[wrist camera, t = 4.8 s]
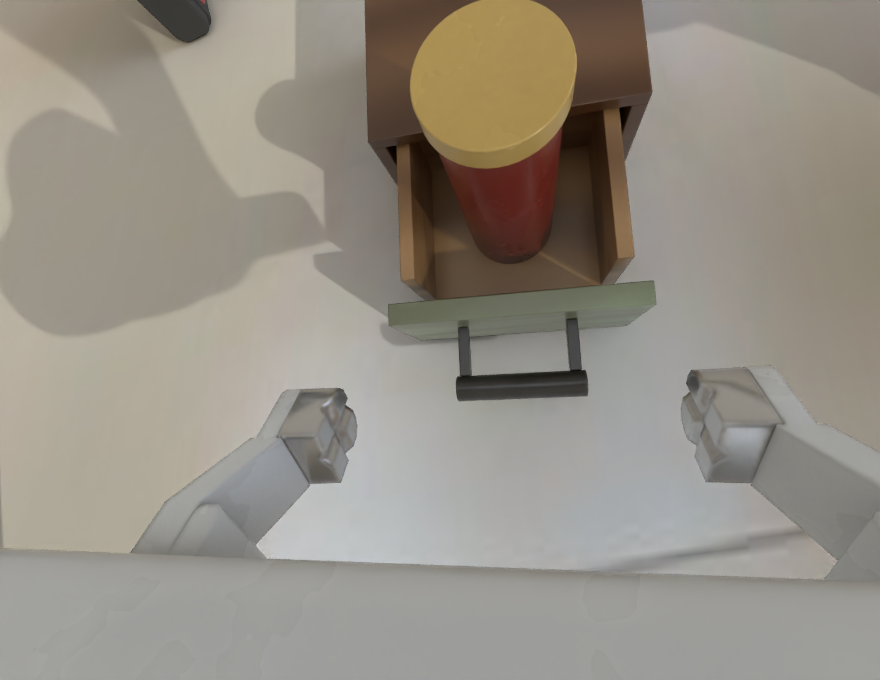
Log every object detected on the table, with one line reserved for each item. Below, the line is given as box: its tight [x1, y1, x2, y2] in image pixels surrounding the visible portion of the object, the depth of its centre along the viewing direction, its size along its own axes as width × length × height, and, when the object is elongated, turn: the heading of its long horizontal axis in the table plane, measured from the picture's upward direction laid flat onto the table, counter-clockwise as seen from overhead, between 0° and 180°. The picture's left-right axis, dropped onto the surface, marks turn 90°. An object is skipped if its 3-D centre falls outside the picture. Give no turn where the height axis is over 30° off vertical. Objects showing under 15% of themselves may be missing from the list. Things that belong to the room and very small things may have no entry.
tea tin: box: [410, 0, 577, 264], centre depth 21 cm, size 6×6×14 cm
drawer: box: [388, 108, 656, 401], centre depth 26 cm, size 17×13×7 cm
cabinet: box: [365, 0, 652, 186], centre depth 27 cm, size 14×15×9 cm
